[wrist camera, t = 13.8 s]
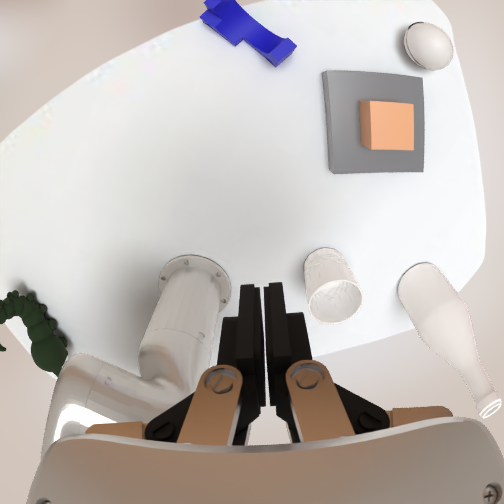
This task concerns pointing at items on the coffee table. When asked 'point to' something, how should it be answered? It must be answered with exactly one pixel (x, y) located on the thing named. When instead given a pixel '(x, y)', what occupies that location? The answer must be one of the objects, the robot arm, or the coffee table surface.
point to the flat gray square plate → (348, 121)
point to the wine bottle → (447, 329)
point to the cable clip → (245, 30)
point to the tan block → (387, 125)
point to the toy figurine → (36, 331)
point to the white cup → (331, 287)
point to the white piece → (428, 46)
